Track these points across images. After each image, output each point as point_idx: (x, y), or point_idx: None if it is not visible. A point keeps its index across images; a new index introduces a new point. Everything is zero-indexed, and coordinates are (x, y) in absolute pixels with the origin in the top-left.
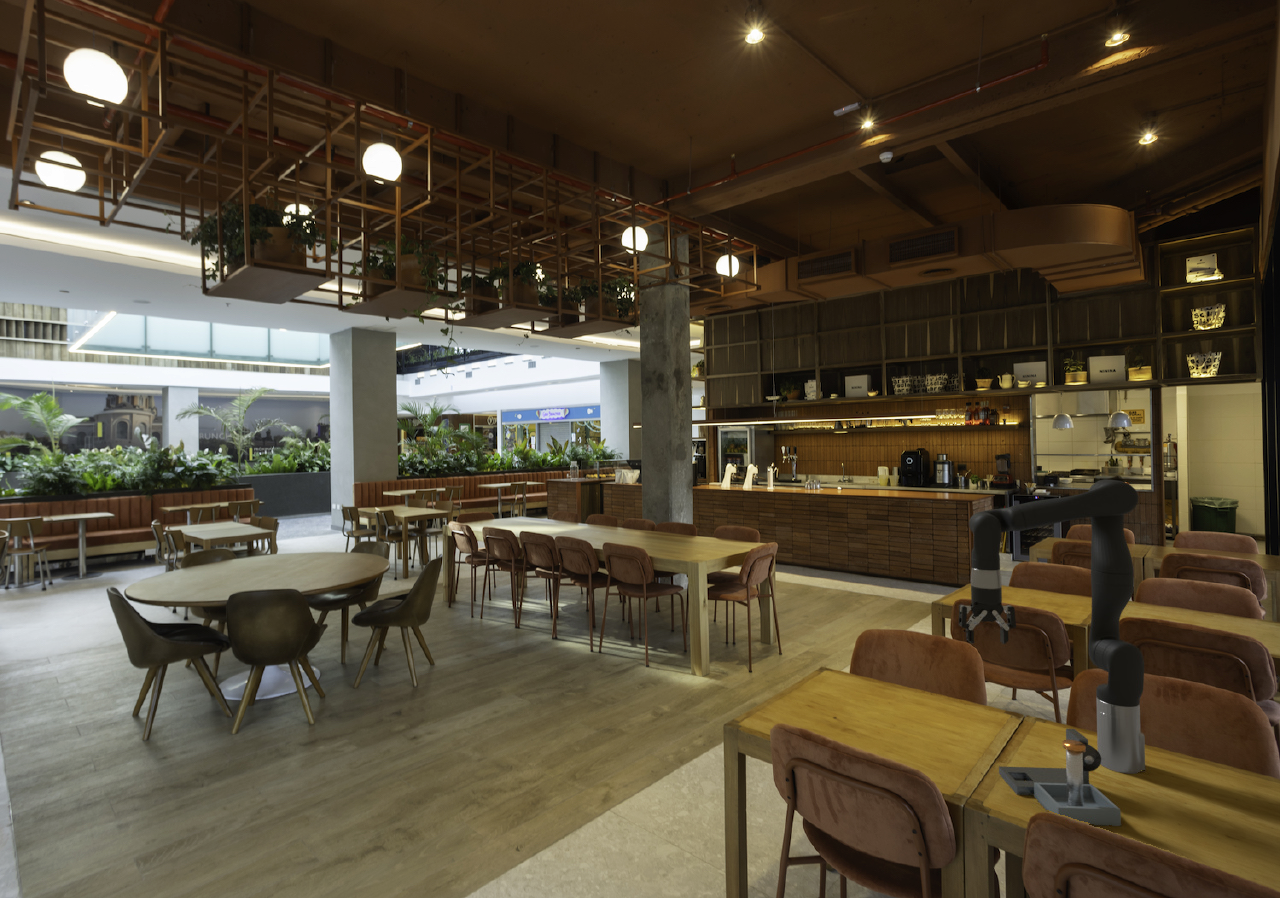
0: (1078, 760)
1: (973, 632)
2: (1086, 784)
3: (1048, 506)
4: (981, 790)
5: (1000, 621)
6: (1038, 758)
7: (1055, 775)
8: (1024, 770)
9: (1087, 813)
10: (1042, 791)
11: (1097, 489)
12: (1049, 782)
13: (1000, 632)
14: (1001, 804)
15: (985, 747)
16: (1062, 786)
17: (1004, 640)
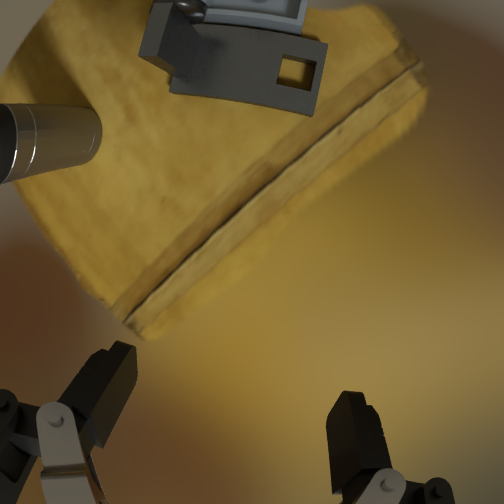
0: None
1: (362, 454)
2: (206, 12)
3: None
4: (377, 79)
5: (79, 498)
6: (187, 169)
7: (222, 67)
8: (271, 91)
9: None
10: (307, 2)
11: None
12: (254, 45)
13: (112, 425)
14: (369, 36)
15: (262, 228)
16: (253, 13)
17: (120, 357)
